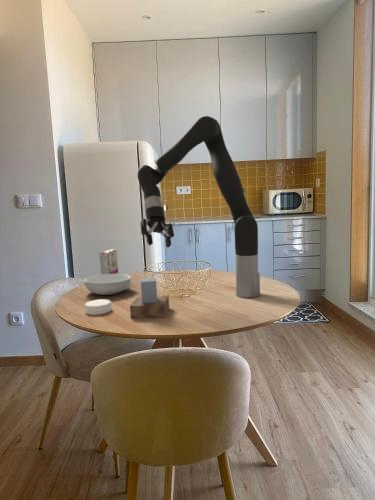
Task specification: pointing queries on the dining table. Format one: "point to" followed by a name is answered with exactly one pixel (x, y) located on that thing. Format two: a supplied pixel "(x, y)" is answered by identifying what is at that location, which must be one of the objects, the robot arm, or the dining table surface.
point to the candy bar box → (108, 262)
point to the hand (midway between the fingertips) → (159, 245)
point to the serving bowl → (107, 283)
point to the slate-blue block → (148, 290)
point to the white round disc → (98, 307)
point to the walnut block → (149, 308)
